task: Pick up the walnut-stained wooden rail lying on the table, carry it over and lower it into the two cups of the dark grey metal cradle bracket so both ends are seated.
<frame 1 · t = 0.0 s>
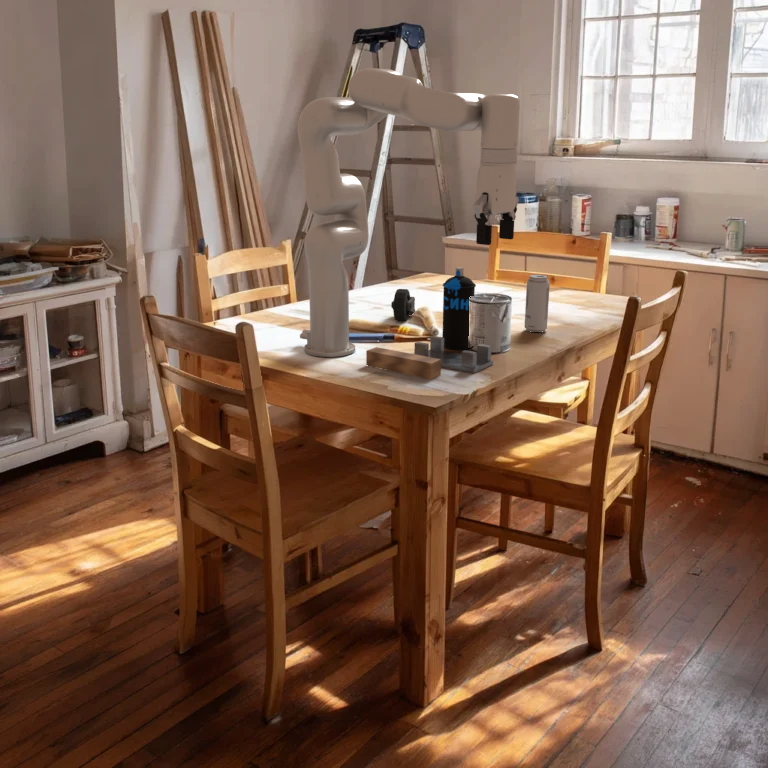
hand: (495, 241, 189), 31 cm above the table, tool pointing down, fingers open, 9 cm apart
aerosol can: (457, 346, 228), on the table
energy drink can: (535, 331, 244), on the table
caster wheel: (403, 319, 257), on the table
cradle: (452, 362, 213), on the table
rail: (402, 371, 208), on the table
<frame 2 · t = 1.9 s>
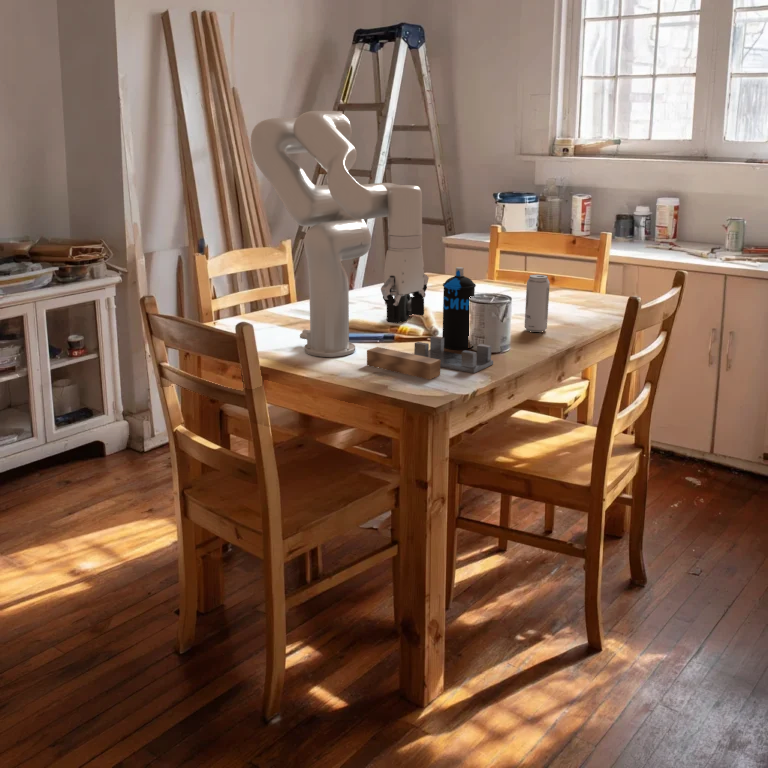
hand: (405, 318, 203), 12 cm above the table, tool pointing down, fingers open, 9 cm apart
nothing on the table moved.
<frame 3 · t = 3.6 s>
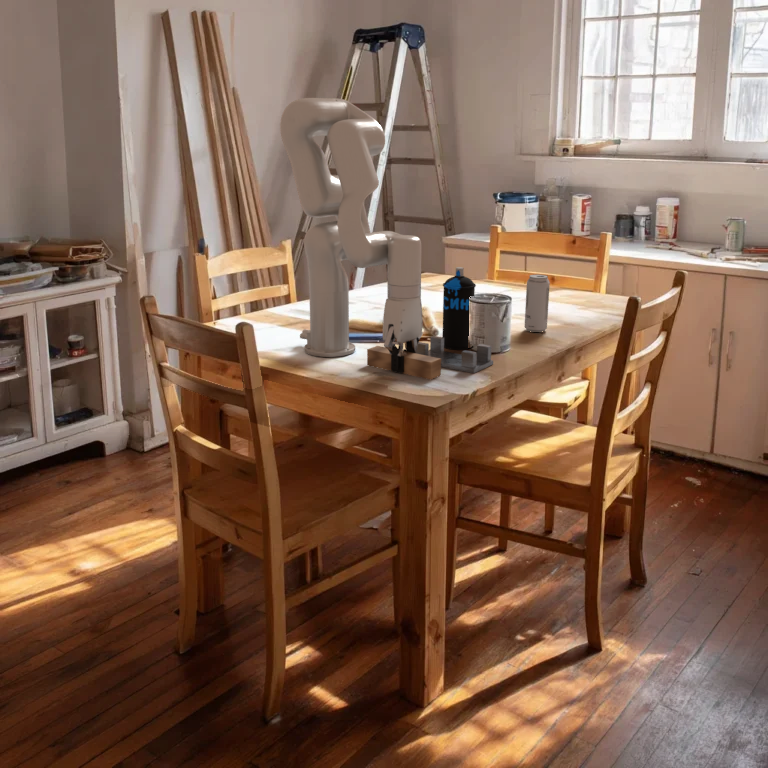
hand: (403, 368, 207), 0 cm above the table, tool pointing down, fingers closed on rail, 4 cm apart
rail: (403, 370, 207), on the table, touching gripper
everything else where it was.
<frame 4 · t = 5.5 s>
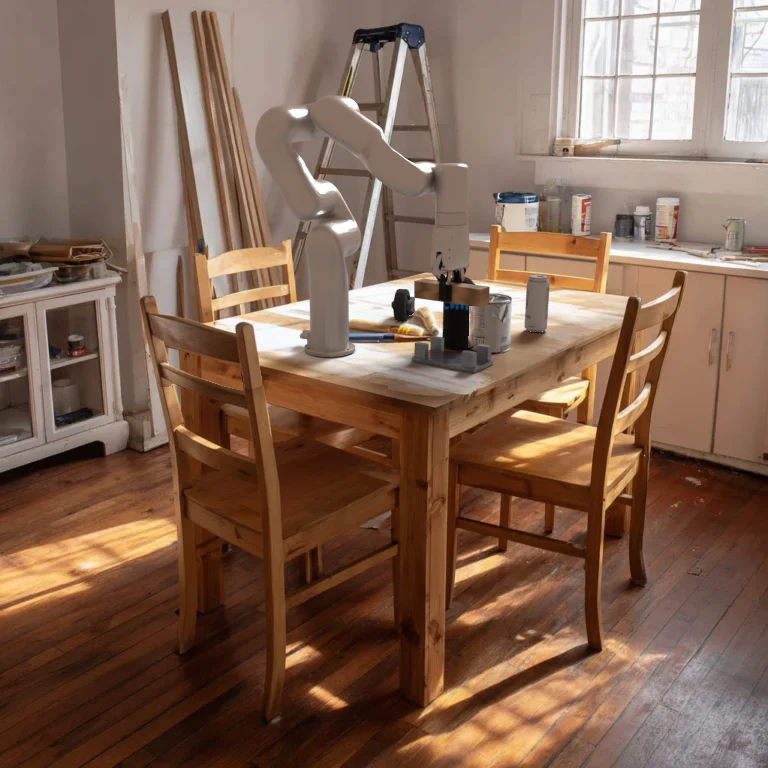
hand: (450, 298, 208), 16 cm above the table, tool pointing down, fingers closed on rail, 4 cm apart
rail: (451, 300, 208), point 15 cm above the table, touching gripper
everything else where it was.
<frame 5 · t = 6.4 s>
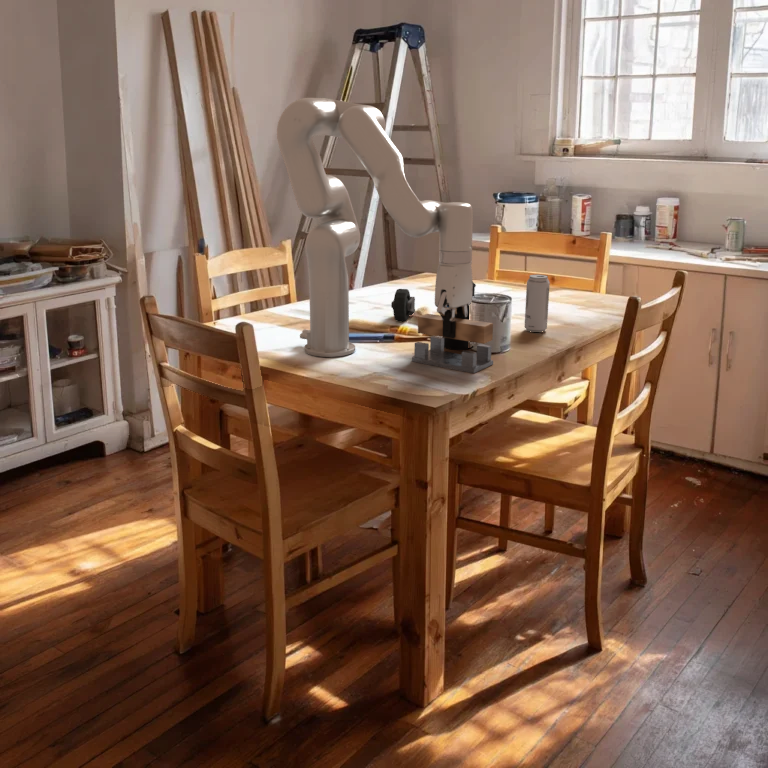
hand: (454, 334, 211), 7 cm above the table, tool pointing down, fingers closed on rail, 4 cm apart
rail: (454, 336, 211), point 6 cm above the table, touching gripper
everything else where it was.
when the fingers open (3 cm above the table, at t = 7.4 s): rail drops 1 cm, resting on cradle.
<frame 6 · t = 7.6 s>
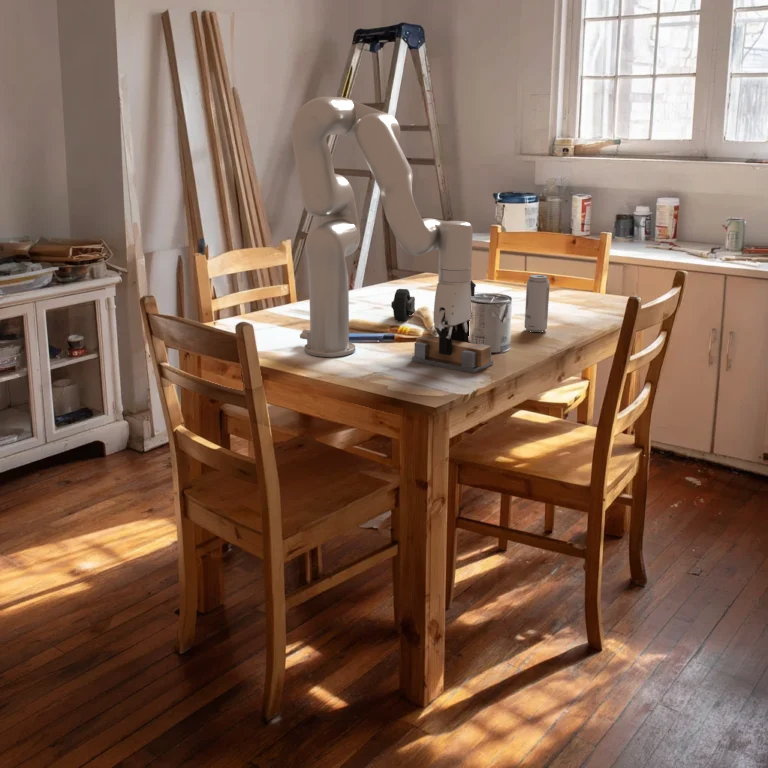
hand: (452, 350, 213), 3 cm above the table, tool pointing down, fingers open, 5 cm apart
rail: (452, 358, 213), point 1 cm above the table, touching cradle
everything else where it was.
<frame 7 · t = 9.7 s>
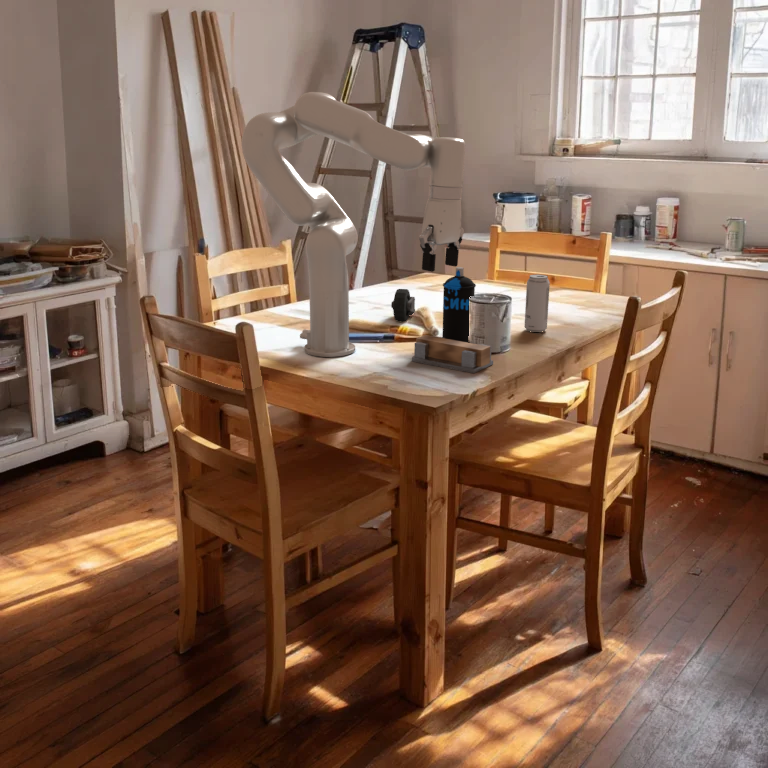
hand: (439, 268, 210), 22 cm above the table, tool pointing down, fingers open, 9 cm apart
nothing on the table moved.
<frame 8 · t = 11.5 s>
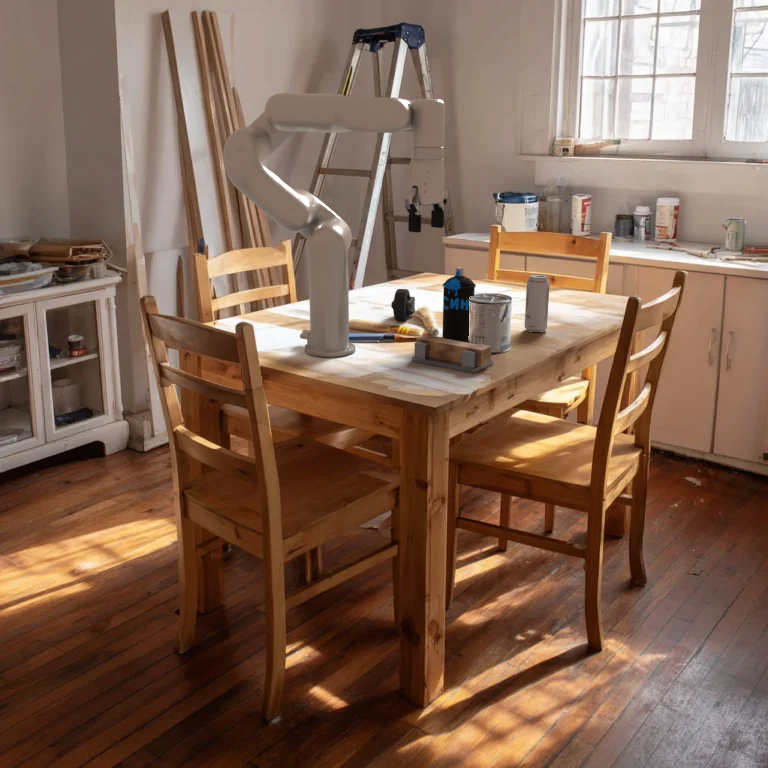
hand: (426, 229, 212), 30 cm above the table, tool pointing down, fingers open, 9 cm apart
nothing on the table moved.
at the end: rail 0.0 cm off-centre on the cradle, point 1.0 cm above the cradle's base; rail tilted 0°; the gripper is holding nothing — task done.
